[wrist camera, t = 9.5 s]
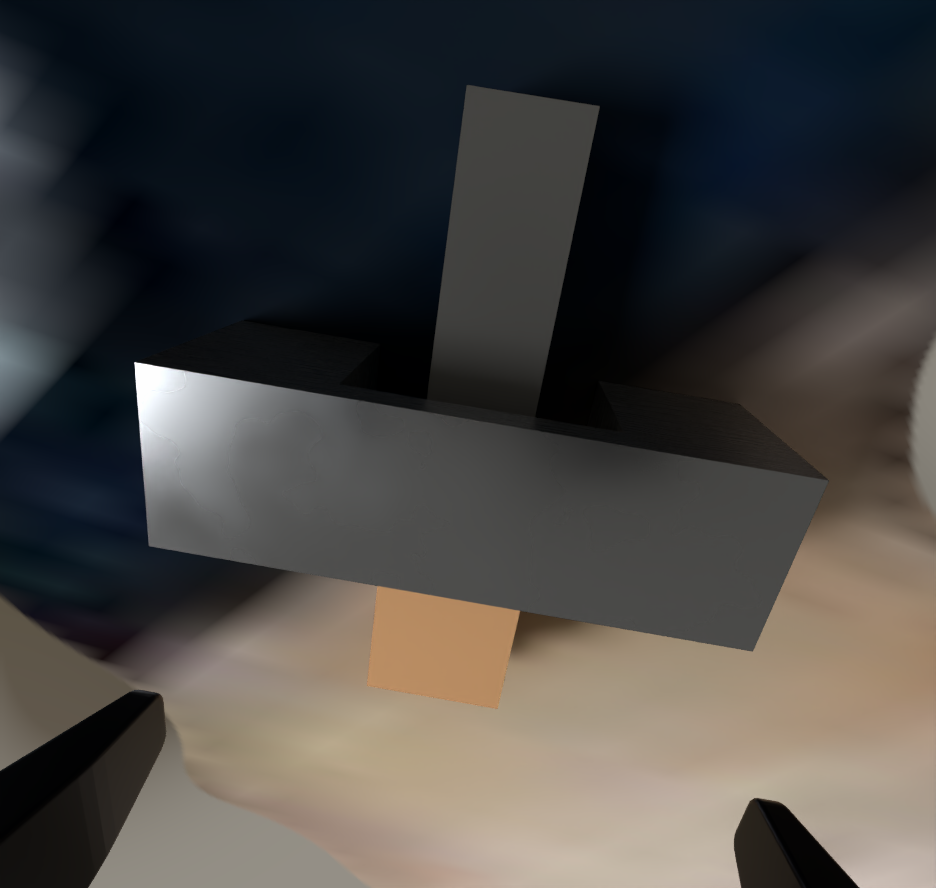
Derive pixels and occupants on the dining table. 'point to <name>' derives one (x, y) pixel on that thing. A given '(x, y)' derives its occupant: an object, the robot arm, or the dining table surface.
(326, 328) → the dining table surface
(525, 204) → the plug
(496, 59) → the dining table surface
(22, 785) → the robot arm
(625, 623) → the housing
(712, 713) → the dining table surface
